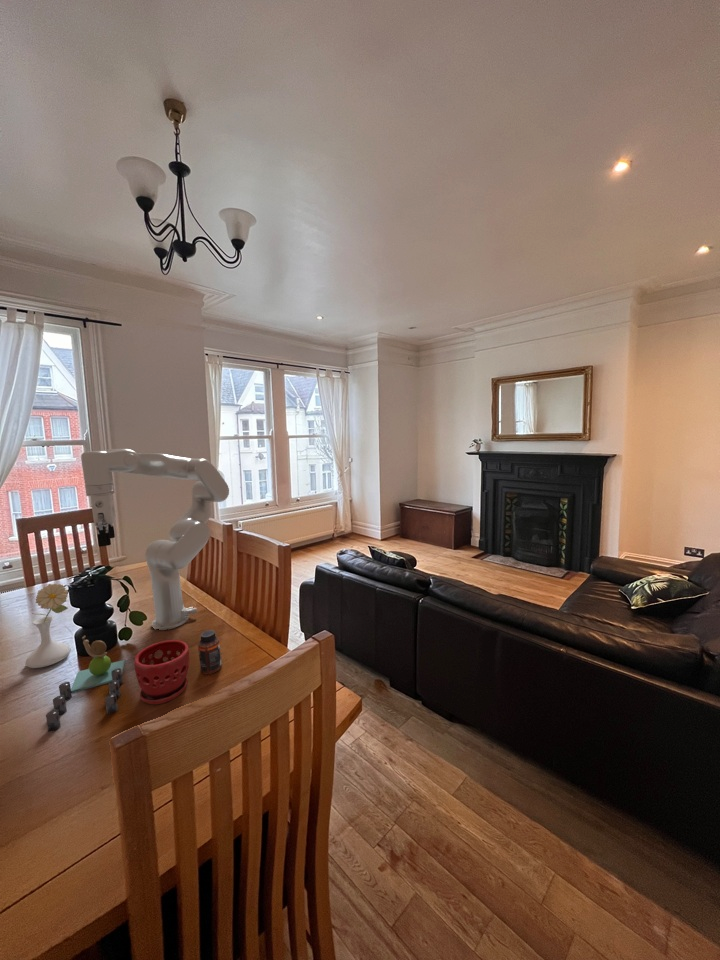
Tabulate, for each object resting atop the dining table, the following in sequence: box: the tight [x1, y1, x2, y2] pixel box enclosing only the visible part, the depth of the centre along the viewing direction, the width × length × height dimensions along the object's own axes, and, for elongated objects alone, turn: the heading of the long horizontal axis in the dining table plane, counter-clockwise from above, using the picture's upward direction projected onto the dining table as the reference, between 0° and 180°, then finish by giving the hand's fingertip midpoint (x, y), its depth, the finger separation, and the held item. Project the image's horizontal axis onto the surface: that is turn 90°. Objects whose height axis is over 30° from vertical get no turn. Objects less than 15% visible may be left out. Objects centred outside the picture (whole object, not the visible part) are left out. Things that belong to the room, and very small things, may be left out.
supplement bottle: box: [197, 629, 223, 675], centre depth 114 cm, size 6×6×11 cm
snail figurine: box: [81, 635, 112, 675], centre depth 113 cm, size 5×6×12 cm
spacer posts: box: [45, 668, 124, 733], centre depth 101 cm, size 14×14×4 cm
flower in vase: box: [24, 583, 72, 669], centre depth 121 cm, size 13×11×25 cm
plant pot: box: [134, 639, 190, 705], centre depth 104 cm, size 13×13×12 cm
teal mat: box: [71, 659, 126, 694], centre depth 113 cm, size 12×10×1 cm
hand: (107, 541), depth 125 cm, fingers open, 9 cm apart
